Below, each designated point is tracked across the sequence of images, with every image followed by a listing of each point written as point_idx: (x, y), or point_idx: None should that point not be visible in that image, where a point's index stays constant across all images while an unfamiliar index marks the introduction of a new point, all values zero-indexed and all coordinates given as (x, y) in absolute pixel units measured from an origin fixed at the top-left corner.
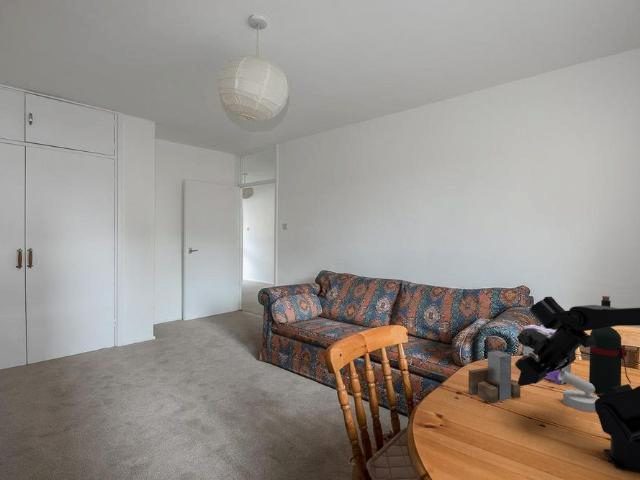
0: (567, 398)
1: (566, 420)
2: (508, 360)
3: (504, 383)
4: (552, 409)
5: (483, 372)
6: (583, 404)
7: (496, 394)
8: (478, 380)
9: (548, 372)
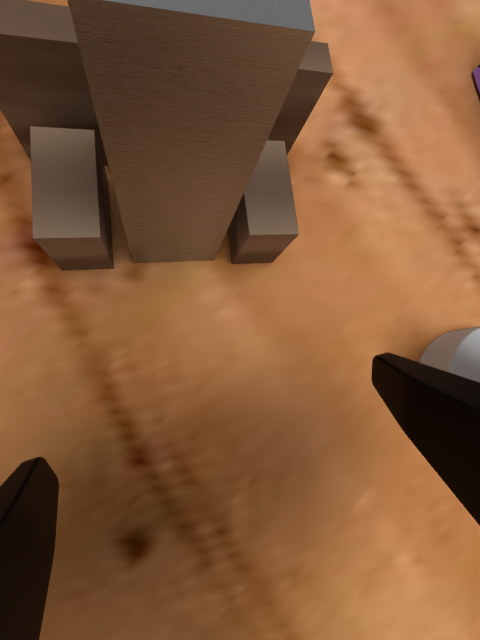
0: None
1: (300, 515)
2: (243, 87)
3: (170, 221)
4: (322, 405)
5: None
6: None
7: (95, 253)
8: (60, 104)
9: (446, 482)
